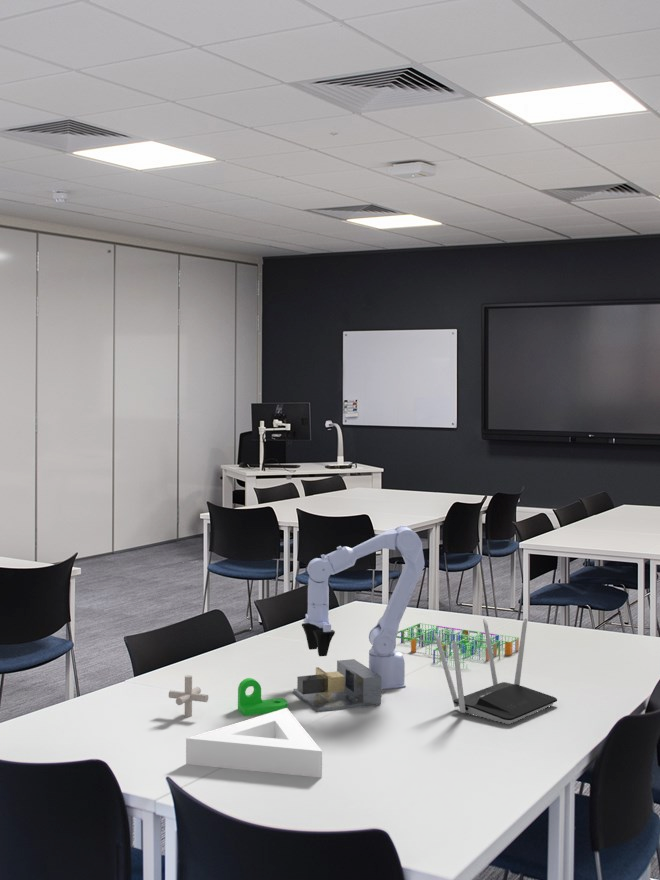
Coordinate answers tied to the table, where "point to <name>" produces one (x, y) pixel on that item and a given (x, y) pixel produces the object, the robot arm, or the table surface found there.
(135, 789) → the table surface
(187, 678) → the pipe connector
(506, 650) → the piping system model
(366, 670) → the block
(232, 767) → the triangle block
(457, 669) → the wireless router
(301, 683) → the grey and tan block
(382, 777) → the table surface
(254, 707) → the mechanical part
